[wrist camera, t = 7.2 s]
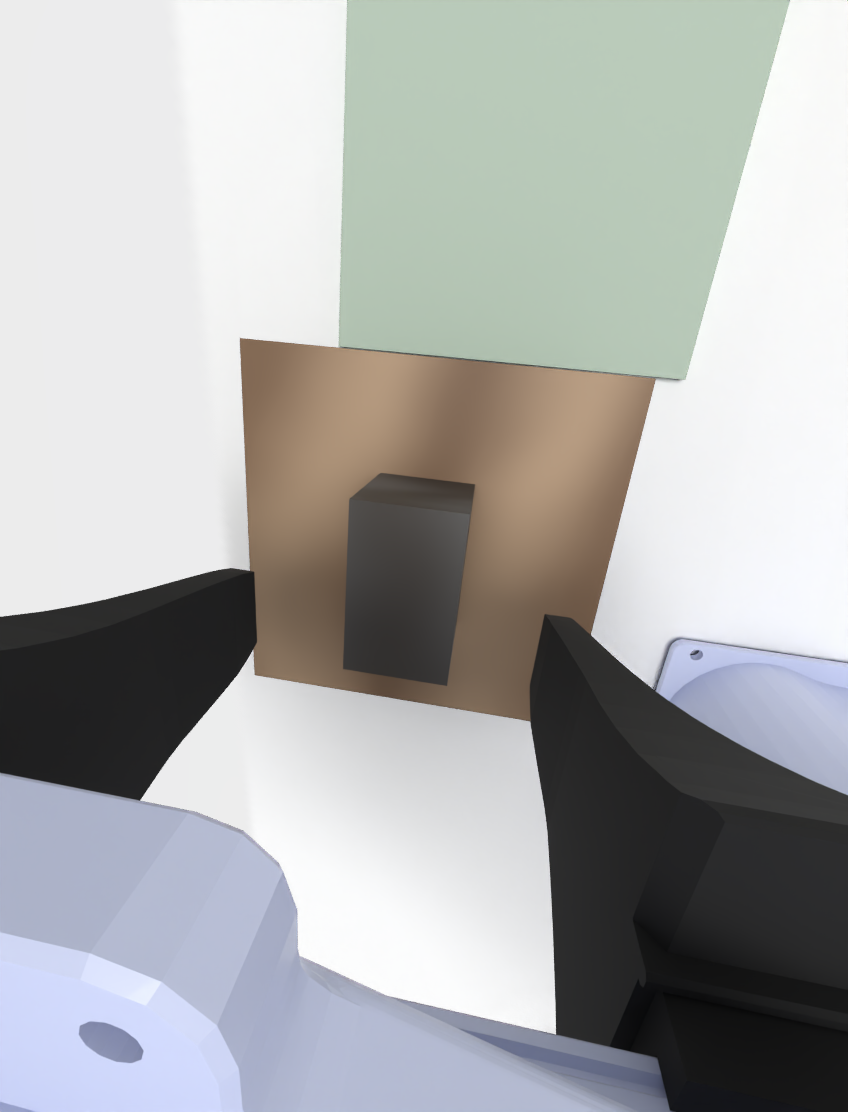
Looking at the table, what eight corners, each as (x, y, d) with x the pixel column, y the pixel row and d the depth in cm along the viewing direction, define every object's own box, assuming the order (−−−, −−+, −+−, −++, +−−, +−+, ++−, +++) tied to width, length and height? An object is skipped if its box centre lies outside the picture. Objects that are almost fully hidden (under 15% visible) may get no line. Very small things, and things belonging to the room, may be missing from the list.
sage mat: (820, -130, 13) (829, -144, 12) (681, 379, 18) (685, 379, 17) (354, -129, 14) (350, -143, 14) (341, 346, 19) (338, 346, 18)
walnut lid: (647, 378, 14) (710, 378, 10) (564, 712, 18) (583, 807, 14) (252, 340, 15) (163, 326, 11) (263, 663, 19) (203, 738, 15)
